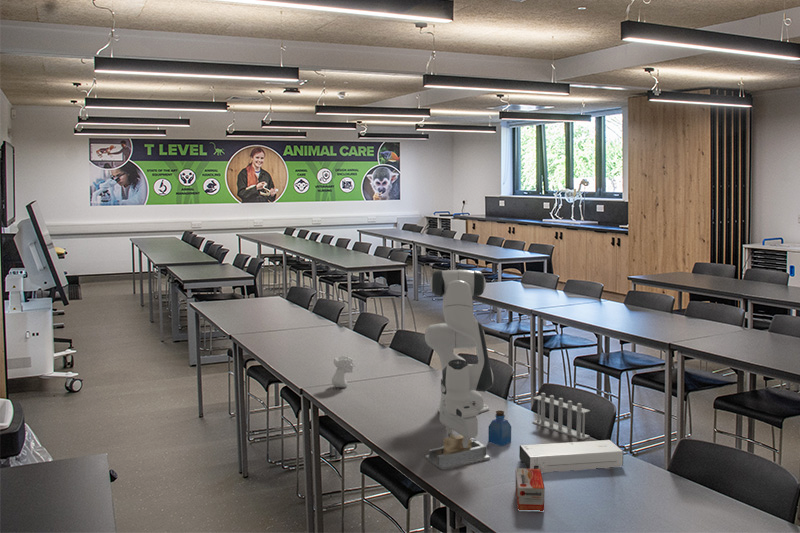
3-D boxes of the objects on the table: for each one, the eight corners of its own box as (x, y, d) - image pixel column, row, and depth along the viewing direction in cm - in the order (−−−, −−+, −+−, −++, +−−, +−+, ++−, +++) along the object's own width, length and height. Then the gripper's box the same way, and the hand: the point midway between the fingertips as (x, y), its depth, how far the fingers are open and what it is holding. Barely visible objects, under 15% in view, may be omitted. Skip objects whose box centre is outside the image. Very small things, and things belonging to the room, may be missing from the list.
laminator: (609, 455, 250) (609, 439, 250) (624, 469, 238) (625, 452, 238) (519, 461, 246) (519, 445, 245) (530, 475, 234) (530, 458, 233)
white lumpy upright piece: (331, 385, 340) (331, 355, 338) (354, 384, 341) (353, 354, 339) (331, 390, 330) (331, 360, 328) (355, 389, 331) (354, 359, 330)
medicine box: (514, 490, 222) (515, 467, 221) (540, 491, 221) (540, 467, 220) (517, 512, 207) (518, 487, 206) (545, 513, 206) (545, 488, 205)
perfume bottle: (498, 437, 268) (498, 408, 266) (511, 441, 264) (511, 411, 262) (488, 442, 264) (488, 411, 262) (501, 446, 259) (501, 415, 258)
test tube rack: (589, 437, 268) (590, 404, 266) (582, 440, 265) (583, 407, 263) (539, 420, 287) (539, 390, 285) (532, 423, 284) (532, 392, 282)
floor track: (471, 448, 258) (471, 437, 257) (490, 459, 247) (490, 448, 247) (425, 458, 248) (425, 447, 248) (442, 470, 238) (442, 459, 237)
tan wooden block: (466, 451, 251) (467, 433, 250) (471, 454, 249) (471, 436, 248) (443, 457, 247) (443, 438, 246) (448, 460, 244) (448, 441, 243)
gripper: (435, 398, 253) (435, 434, 255) (465, 415, 235) (465, 453, 237) (449, 396, 256) (449, 431, 258) (480, 412, 238) (480, 450, 240)
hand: (457, 442), depth 247 cm, fingers open, 8 cm apart
